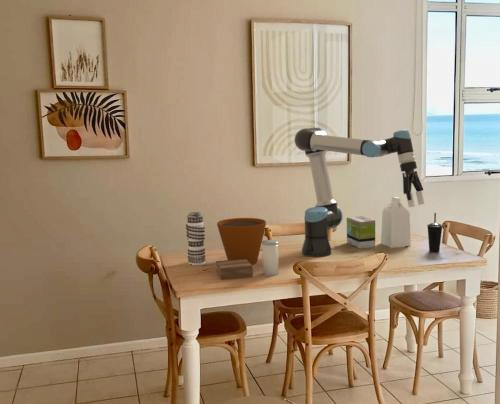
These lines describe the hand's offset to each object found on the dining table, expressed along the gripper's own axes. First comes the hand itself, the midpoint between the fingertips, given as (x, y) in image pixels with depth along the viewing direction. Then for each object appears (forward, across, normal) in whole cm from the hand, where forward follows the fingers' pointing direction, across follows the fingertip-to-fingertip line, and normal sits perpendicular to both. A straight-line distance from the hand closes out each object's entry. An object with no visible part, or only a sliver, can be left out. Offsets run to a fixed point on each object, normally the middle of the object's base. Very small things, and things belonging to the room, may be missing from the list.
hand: (416, 205), depth 268 cm
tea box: (+16, +18, +41) cm, 48 cm away
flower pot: (+11, -45, +75) cm, 88 cm away
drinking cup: (+25, +21, +4) cm, 33 cm away
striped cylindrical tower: (+7, -57, +94) cm, 110 cm away
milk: (+20, +27, +26) cm, 42 cm away
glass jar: (+17, -56, +52) cm, 78 cm away
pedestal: (+14, -65, +66) cm, 93 cm away
